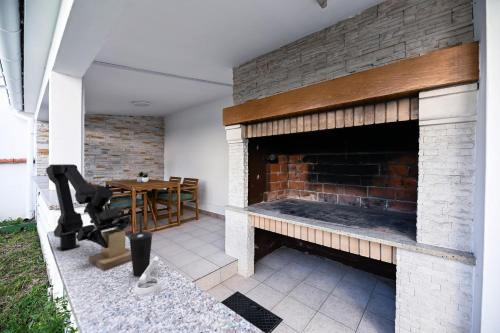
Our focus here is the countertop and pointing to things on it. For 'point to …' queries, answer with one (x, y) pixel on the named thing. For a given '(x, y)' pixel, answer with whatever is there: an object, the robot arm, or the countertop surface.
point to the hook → (148, 280)
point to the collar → (113, 243)
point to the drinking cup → (140, 250)
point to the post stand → (110, 260)
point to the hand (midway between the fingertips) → (115, 244)
